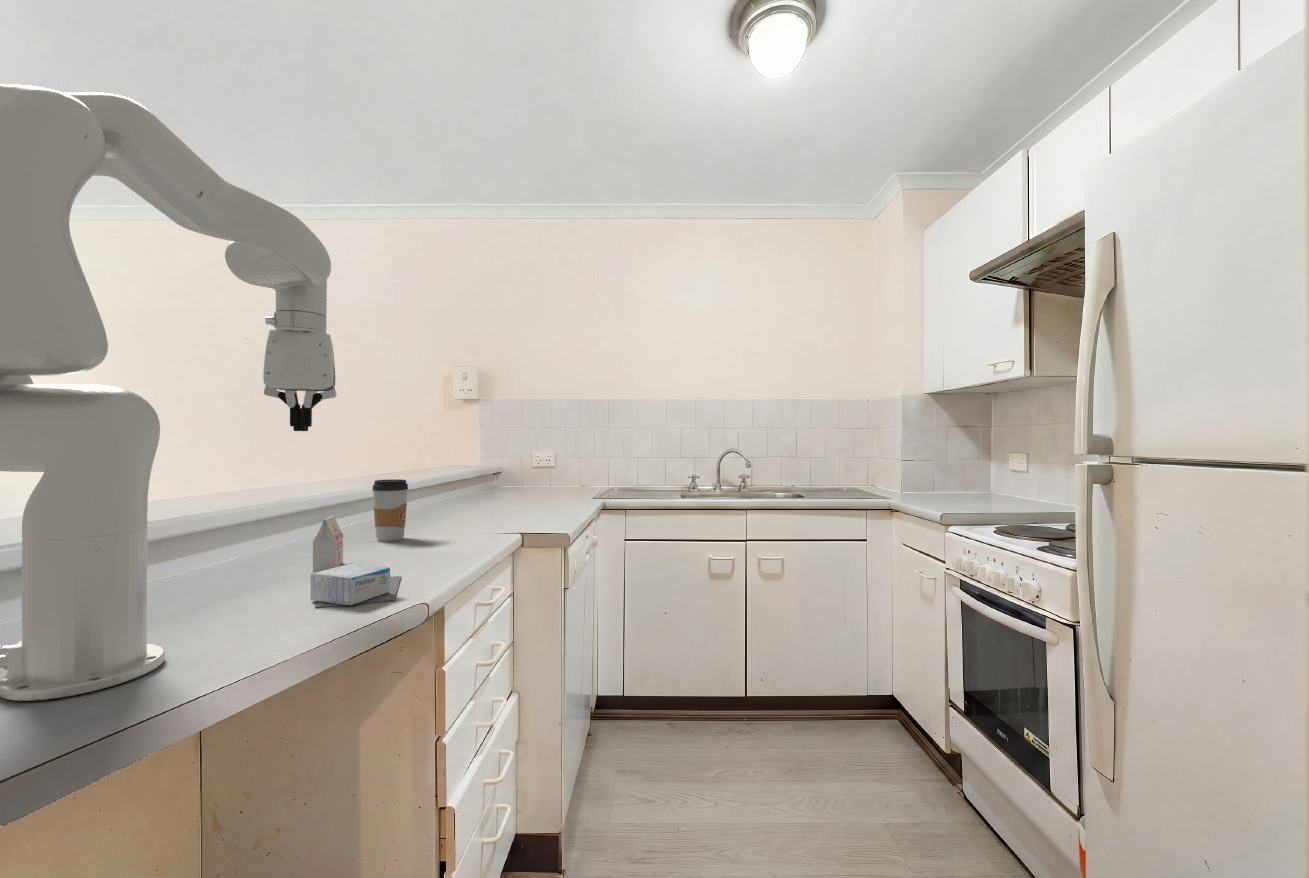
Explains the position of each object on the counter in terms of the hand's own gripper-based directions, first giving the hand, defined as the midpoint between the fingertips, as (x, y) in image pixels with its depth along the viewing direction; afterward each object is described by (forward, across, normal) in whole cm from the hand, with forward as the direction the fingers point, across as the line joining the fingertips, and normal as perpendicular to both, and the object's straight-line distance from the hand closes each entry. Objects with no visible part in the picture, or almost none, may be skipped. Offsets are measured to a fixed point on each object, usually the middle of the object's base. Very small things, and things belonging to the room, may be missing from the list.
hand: (300, 430), depth 97 cm
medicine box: (+25, +6, -8) cm, 27 cm away
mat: (+27, +10, -7) cm, 30 cm away
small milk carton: (+27, +2, +14) cm, 31 cm away
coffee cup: (+27, +11, +43) cm, 52 cm away
